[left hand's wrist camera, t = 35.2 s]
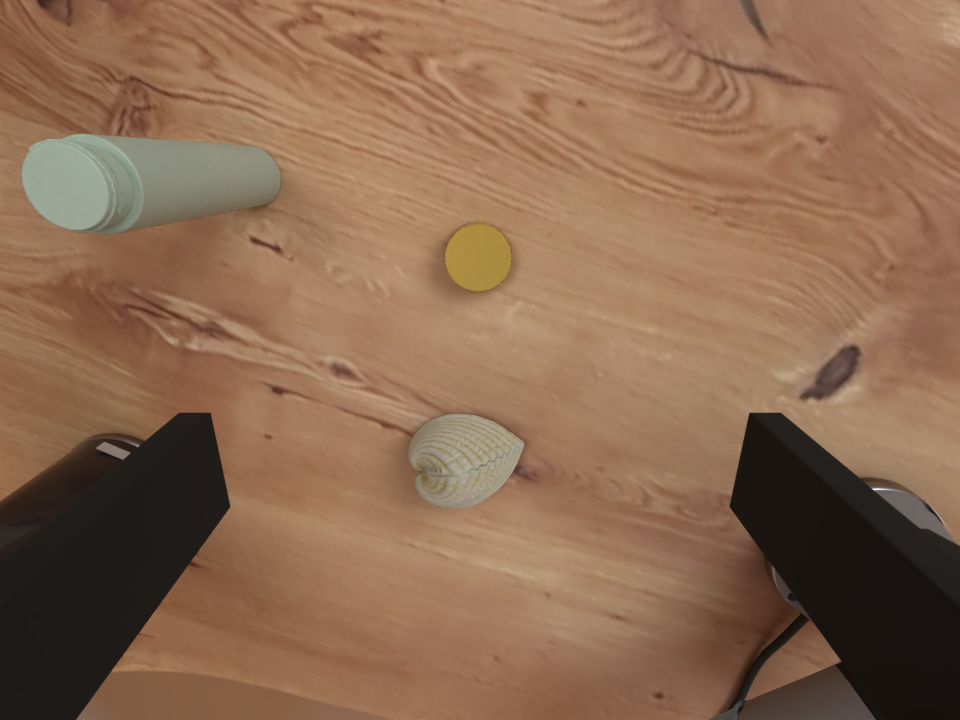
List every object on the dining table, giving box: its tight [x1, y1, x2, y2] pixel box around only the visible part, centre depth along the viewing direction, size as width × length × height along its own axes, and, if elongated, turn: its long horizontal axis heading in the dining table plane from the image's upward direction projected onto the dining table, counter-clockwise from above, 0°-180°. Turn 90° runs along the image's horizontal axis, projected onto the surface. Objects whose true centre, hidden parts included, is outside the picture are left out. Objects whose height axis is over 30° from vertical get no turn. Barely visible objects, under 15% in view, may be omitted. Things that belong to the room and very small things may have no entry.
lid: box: [444, 221, 512, 291], centre depth 39 cm, size 5×5×2 cm
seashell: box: [408, 414, 524, 509], centre depth 43 cm, size 8×8×8 cm
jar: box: [21, 134, 281, 235], centre depth 29 cm, size 4×4×18 cm
